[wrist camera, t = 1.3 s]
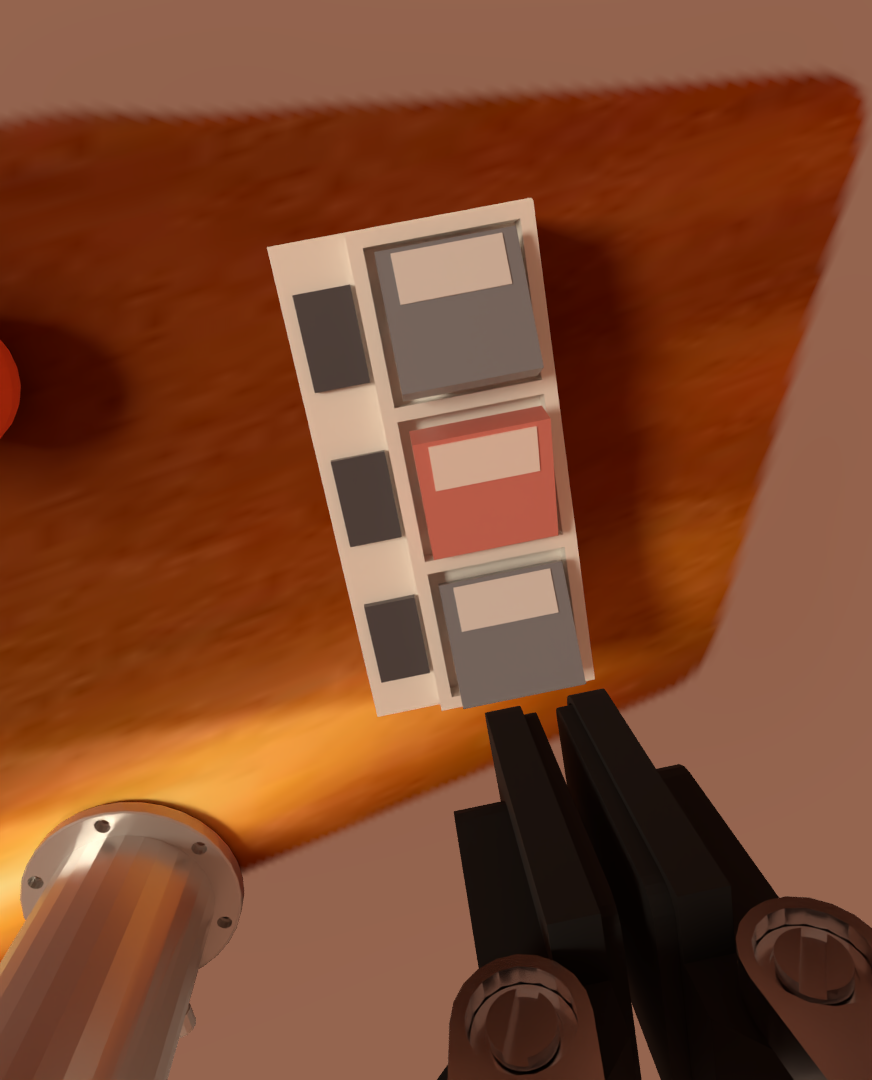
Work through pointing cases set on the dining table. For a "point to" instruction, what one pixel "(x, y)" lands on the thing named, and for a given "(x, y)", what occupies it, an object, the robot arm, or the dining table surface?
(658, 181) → the dining table surface
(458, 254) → the plate
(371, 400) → the rocker switch panel
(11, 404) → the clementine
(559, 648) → the rocker
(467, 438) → the rocker mid
